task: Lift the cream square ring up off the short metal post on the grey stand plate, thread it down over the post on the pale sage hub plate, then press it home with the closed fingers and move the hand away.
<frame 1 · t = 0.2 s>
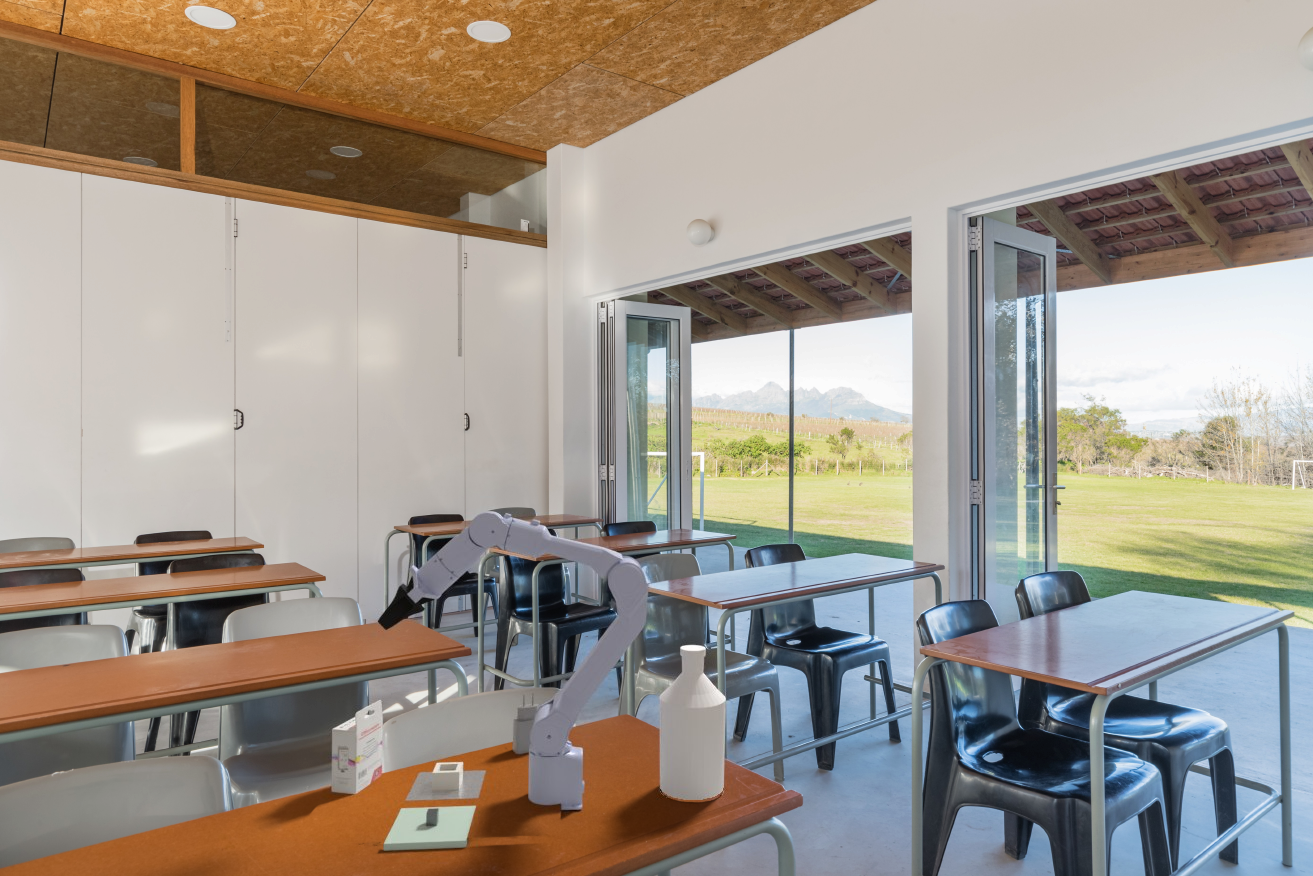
hand: (387, 620, 132), 31 cm above the table, tool tilted 45°, fingers open, 7 cm apart
sage hub plate: (432, 830, 122), on the table
bottle: (691, 790, 139), on the table
power adapter: (527, 755, 154), on the table
grey stand plate: (447, 790, 137), on the table
cream ring: (447, 784, 137), point 1 cm above the table, touching grey stand plate
ink cartridge box: (356, 790, 137), on the table
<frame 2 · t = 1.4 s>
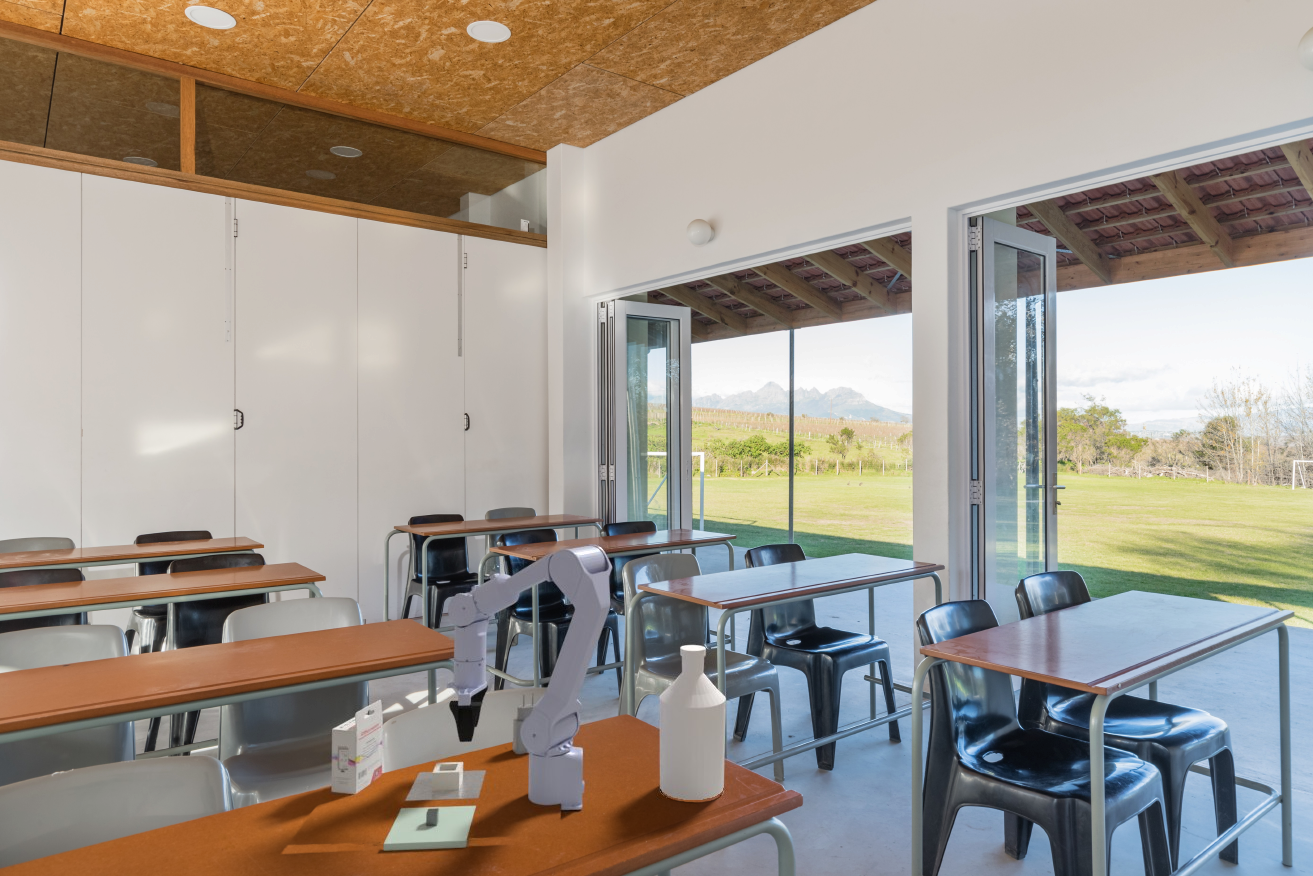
hand: (468, 733, 142), 8 cm above the table, tool pointing down, fingers open, 7 cm apart
nothing on the table moved.
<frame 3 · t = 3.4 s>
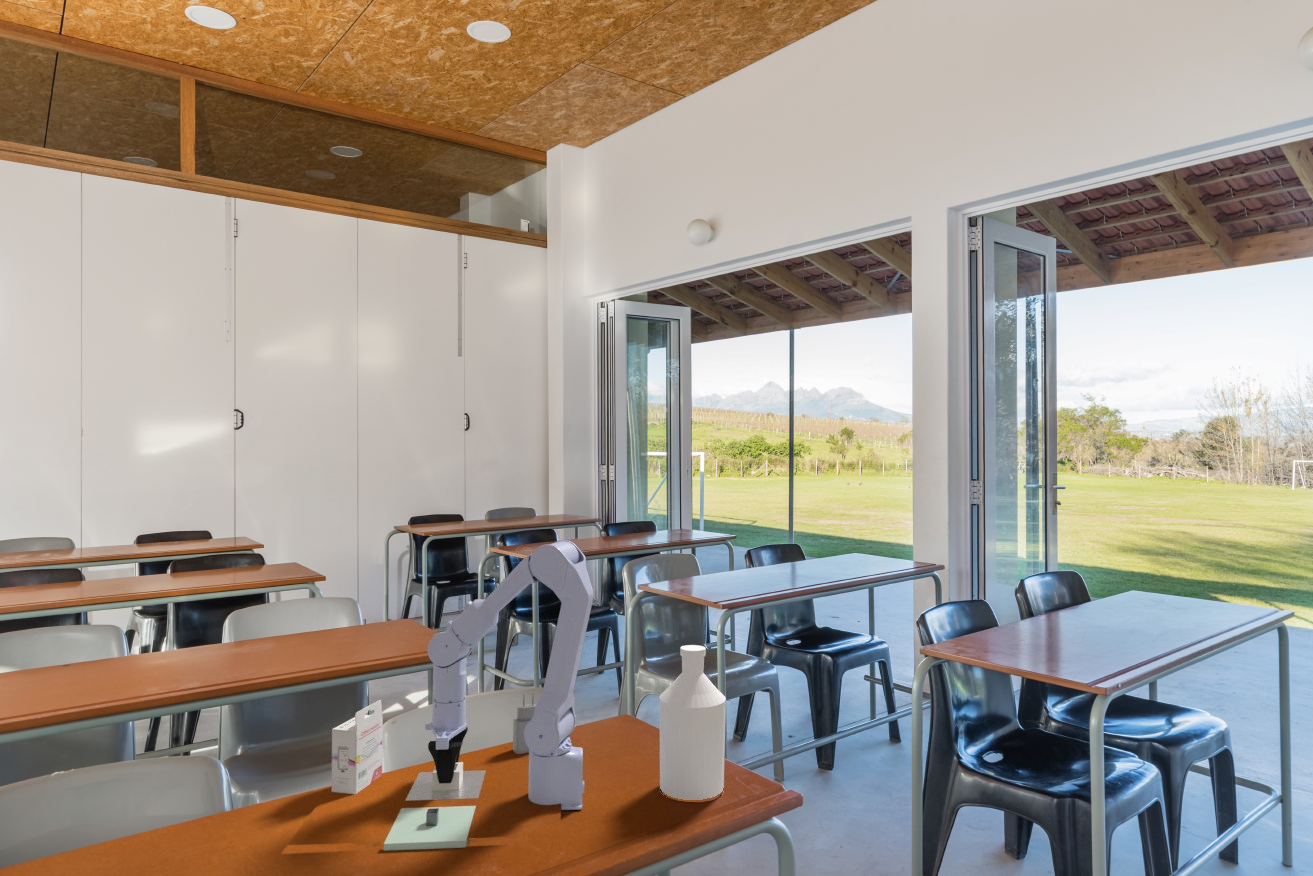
hand: (447, 776, 137), 2 cm above the table, tool pointing down, fingers closed on cream ring, 5 cm apart
cream ring: (447, 784, 137), point 1 cm above the table, touching grey stand plate, gripper
everything else where it was.
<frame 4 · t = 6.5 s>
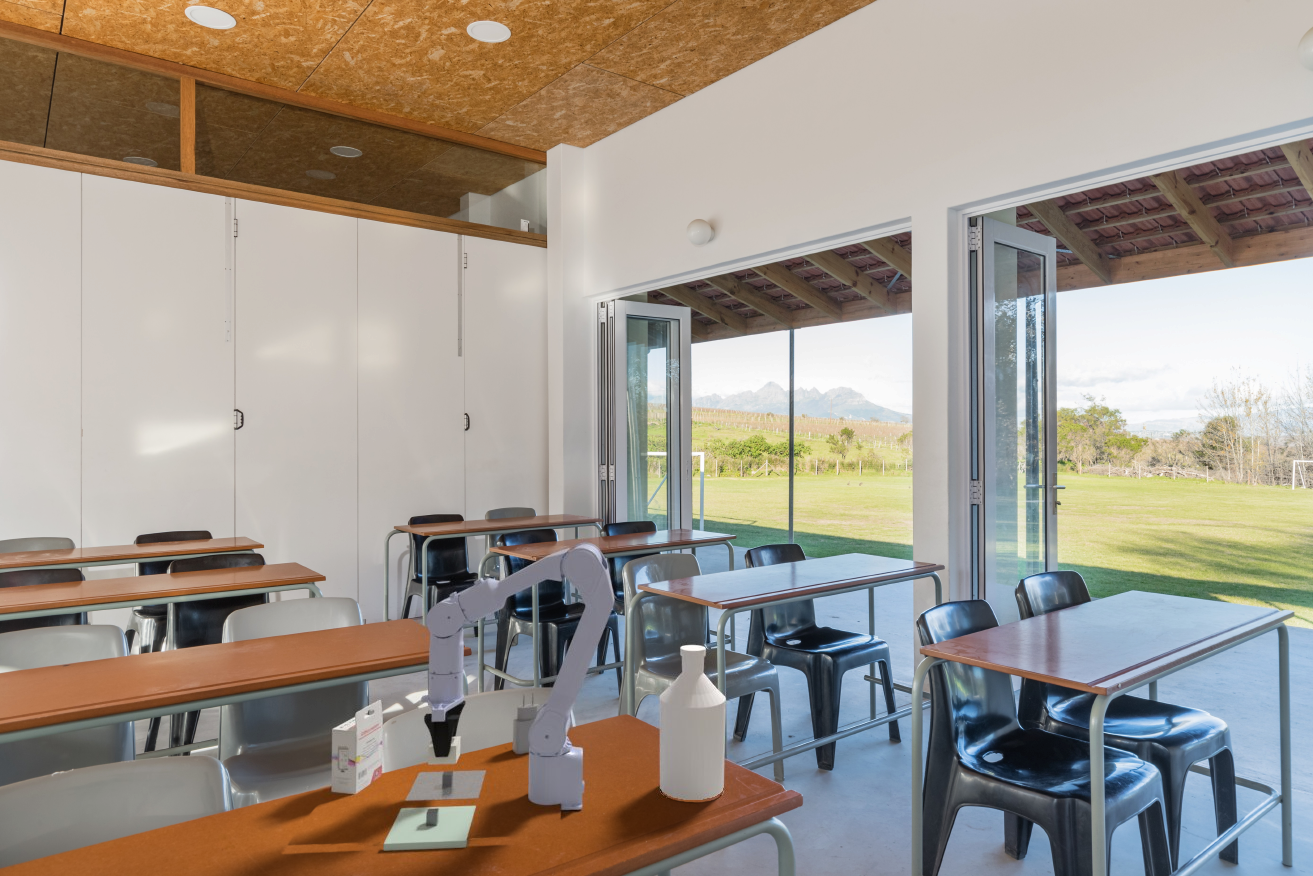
hand: (444, 750, 133), 8 cm above the table, tool pointing down, fingers closed on cream ring, 5 cm apart
cream ring: (444, 759, 133), point 7 cm above the table, touching gripper
everything else where it was.
when the fingers open (3 cm above the table, at t = 9.3 s): cream ring stays where it is, resting on sage hub plate.
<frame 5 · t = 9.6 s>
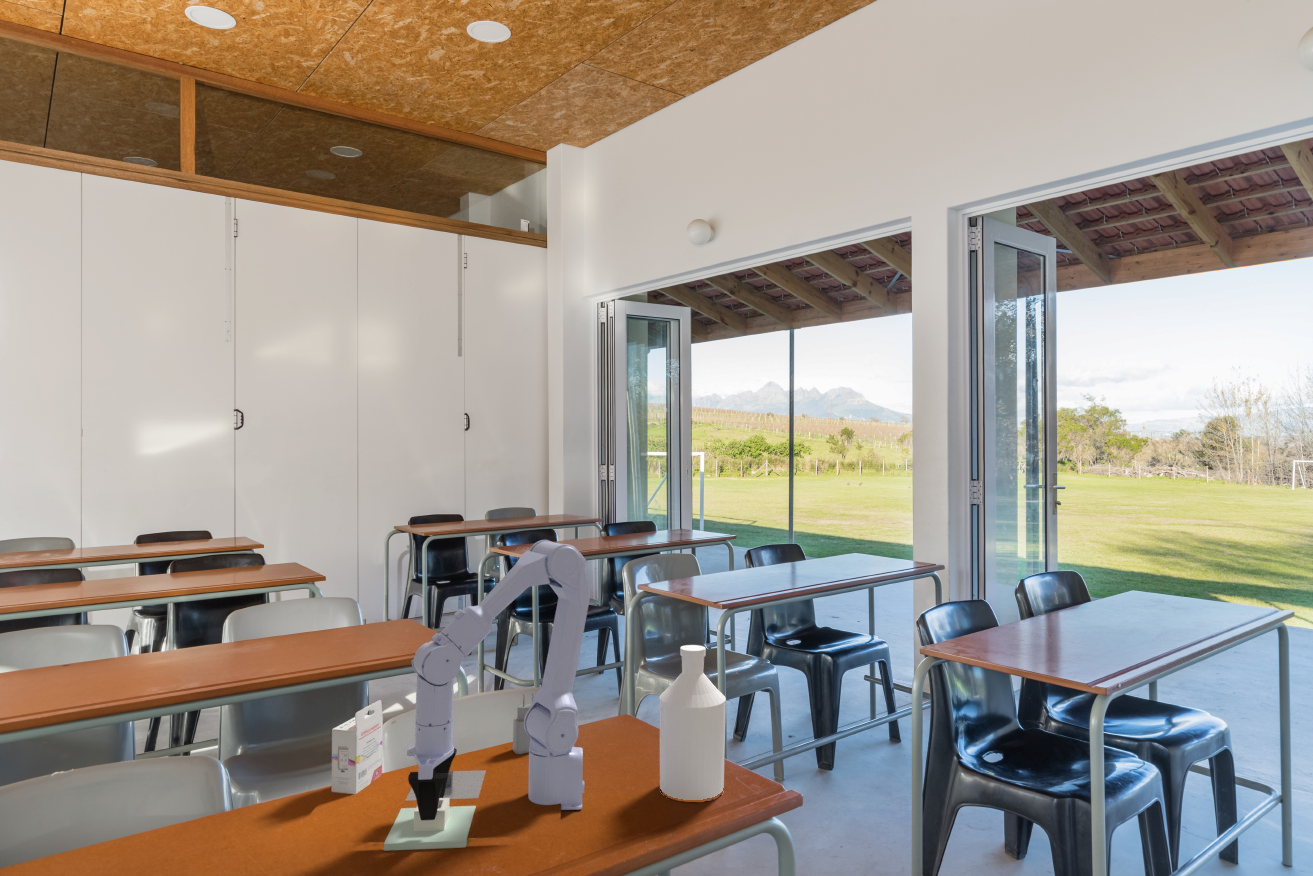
hand: (432, 808, 122), 3 cm above the table, tool pointing down, fingers open, 7 cm apart
cream ring: (431, 823, 122), point 1 cm above the table, touching sage hub plate
everything else where it was.
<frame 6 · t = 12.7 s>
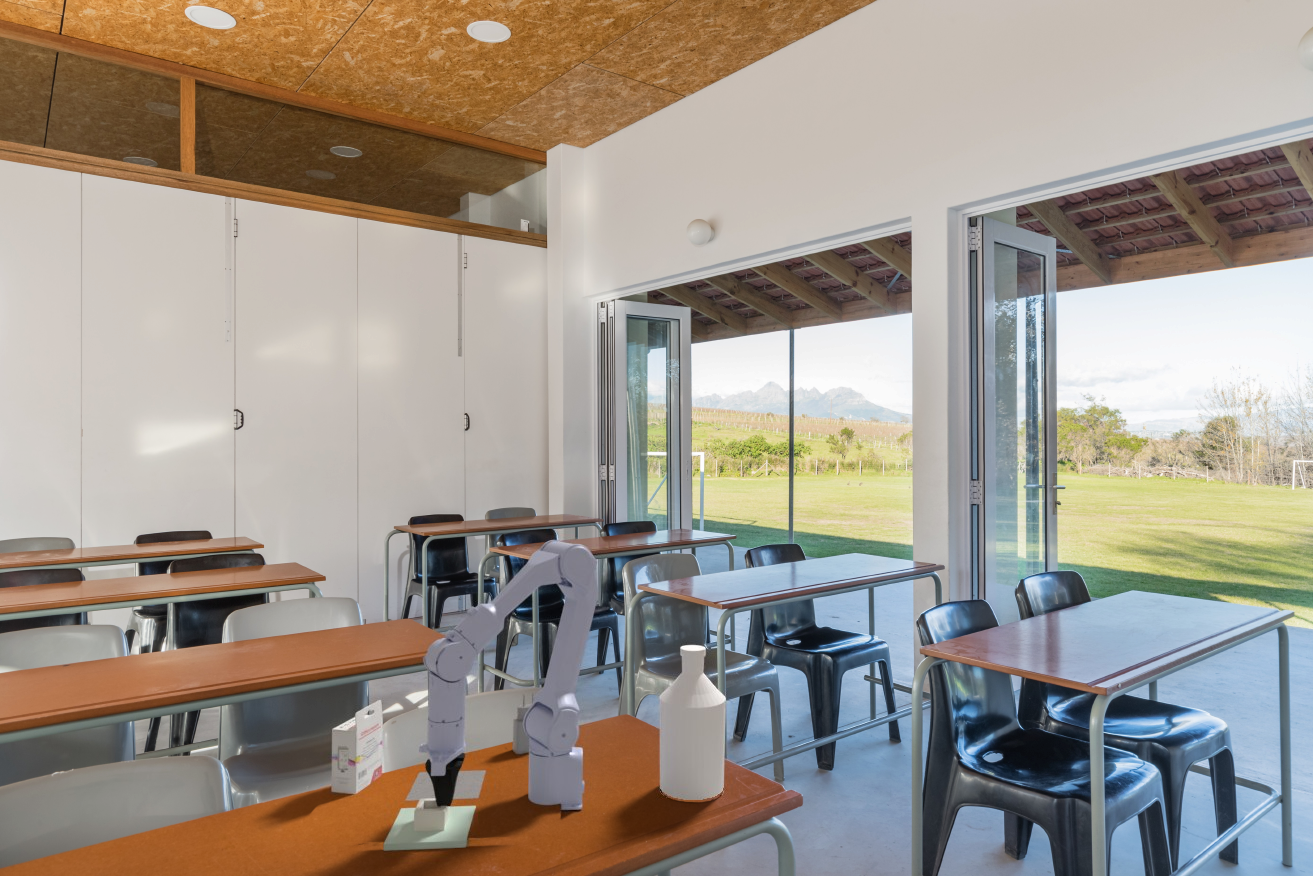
hand: (444, 804, 122), 4 cm above the table, tool pointing down, fingers closed, pressing on cream ring
cream ring: (431, 823, 122), point 1 cm above the table, touching gripper, sage hub plate
everything else where it was.
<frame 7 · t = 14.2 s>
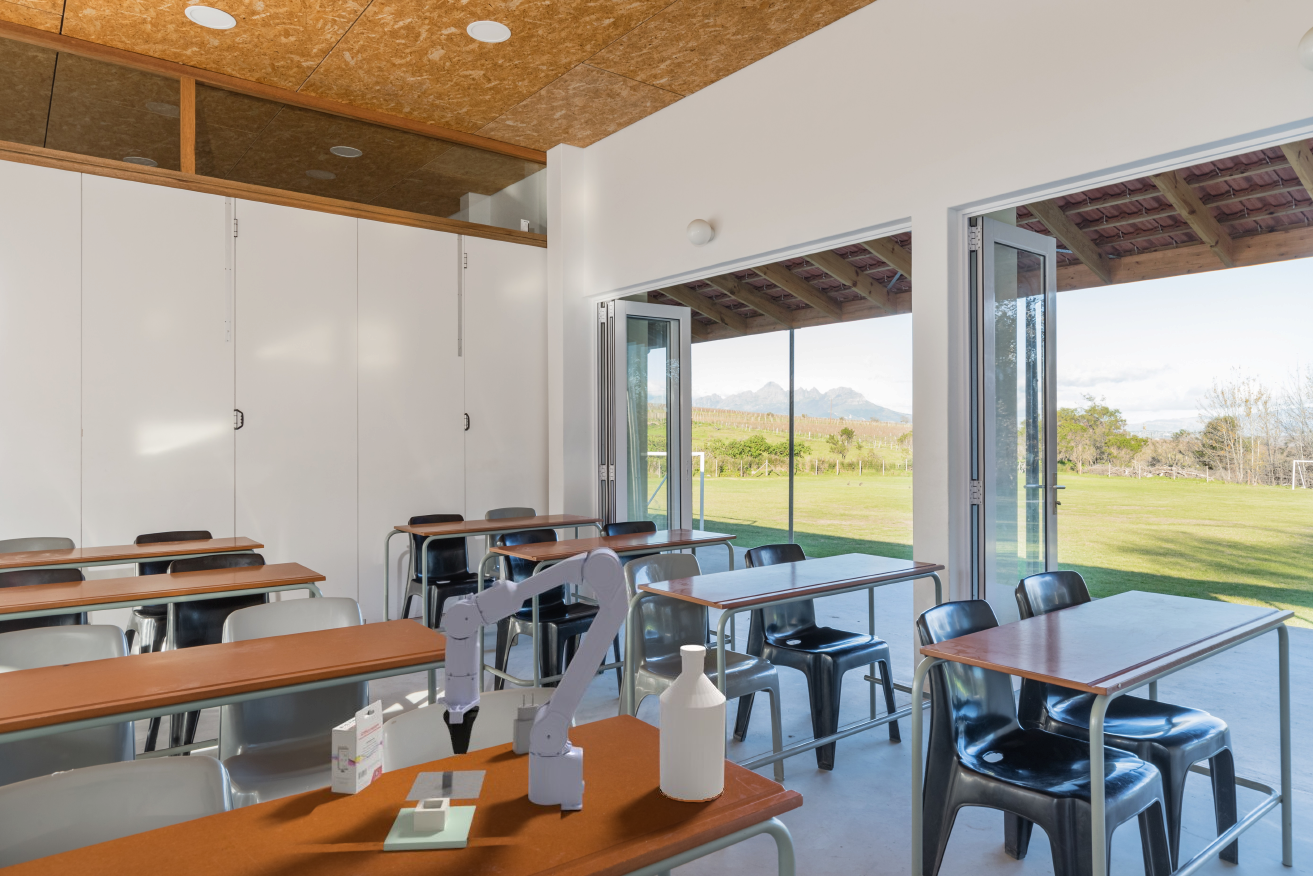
hand: (460, 752, 132), 8 cm above the table, tool pointing down, fingers closed
cream ring: (431, 823, 122), point 1 cm above the table, touching sage hub plate
everything else where it was.
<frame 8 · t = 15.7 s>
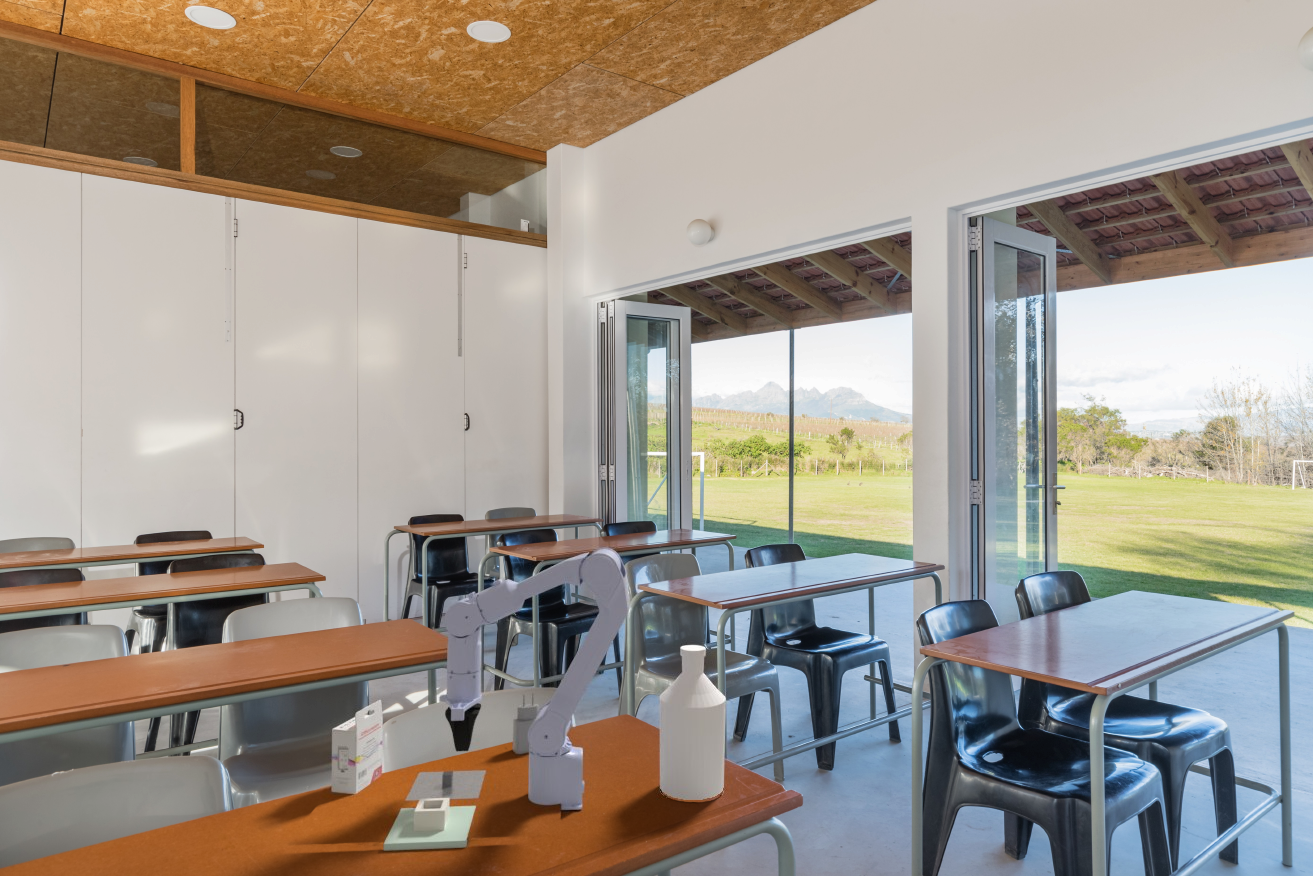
hand: (462, 749, 134), 8 cm above the table, tool pointing down, fingers closed
nothing on the table moved.
at the end: cream ring 0.1 cm off-centre on the sage hub plate, point 1.0 cm above the sage hub plate's base; cream ring tilted 0°; the gripper is holding nothing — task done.
